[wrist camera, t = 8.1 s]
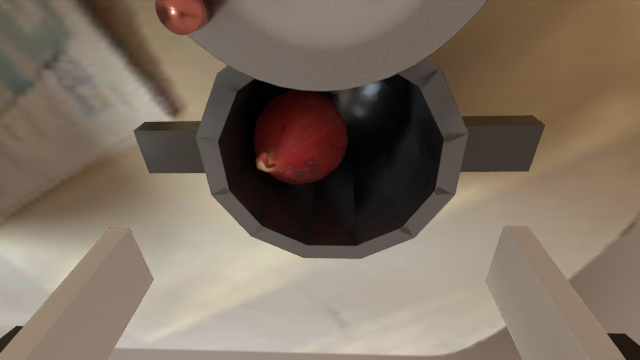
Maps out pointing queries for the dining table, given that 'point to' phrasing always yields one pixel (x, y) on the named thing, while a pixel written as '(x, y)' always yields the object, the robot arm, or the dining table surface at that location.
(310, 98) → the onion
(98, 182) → the dining table surface
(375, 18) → the lid
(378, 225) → the pot
